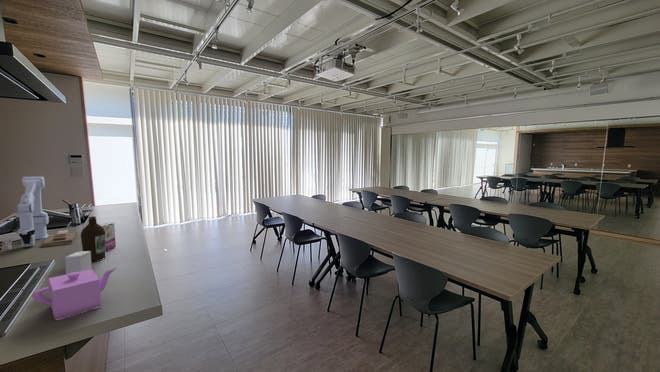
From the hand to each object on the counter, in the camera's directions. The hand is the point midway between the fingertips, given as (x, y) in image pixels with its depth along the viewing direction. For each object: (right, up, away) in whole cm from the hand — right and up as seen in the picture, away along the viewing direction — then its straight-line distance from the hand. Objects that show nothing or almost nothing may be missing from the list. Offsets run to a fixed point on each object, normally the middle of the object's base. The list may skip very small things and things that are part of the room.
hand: (28, 242), depth 174 cm
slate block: (0, -2, 0) cm, 2 cm away
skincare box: (+77, -10, -47) cm, 91 cm away
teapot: (+93, -12, -65) cm, 114 cm away
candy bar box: (+50, -5, -1) cm, 51 cm away
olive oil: (+58, -6, -17) cm, 60 cm away
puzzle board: (+7, -2, +14) cm, 16 cm away
